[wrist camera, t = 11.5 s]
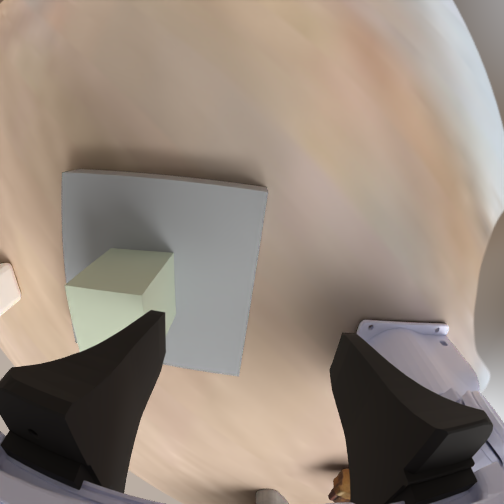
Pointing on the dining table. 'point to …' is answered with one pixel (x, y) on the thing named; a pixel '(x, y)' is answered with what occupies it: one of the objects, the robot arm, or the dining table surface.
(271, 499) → the hip flask
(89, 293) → the sage block
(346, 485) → the wooden carving
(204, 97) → the dining table surface
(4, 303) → the pepper shaker
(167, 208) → the slate block
